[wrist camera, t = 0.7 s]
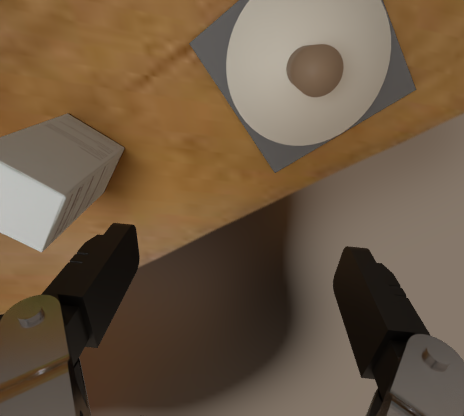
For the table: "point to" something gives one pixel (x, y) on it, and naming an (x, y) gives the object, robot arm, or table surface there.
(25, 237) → the supplement box
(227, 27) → the mat
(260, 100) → the lid
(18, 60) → the table surface
